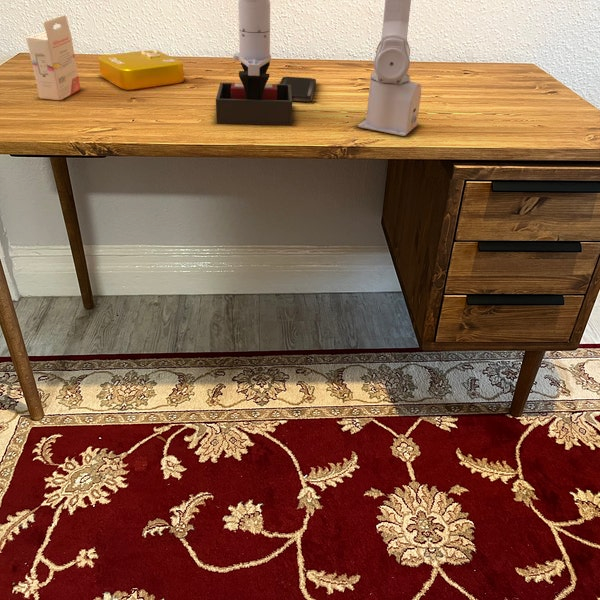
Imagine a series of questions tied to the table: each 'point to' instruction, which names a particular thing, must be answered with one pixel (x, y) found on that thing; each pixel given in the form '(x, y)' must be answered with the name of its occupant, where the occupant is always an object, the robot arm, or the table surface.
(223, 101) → the bin
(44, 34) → the ink cartridge box
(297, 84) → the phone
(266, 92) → the red and black box
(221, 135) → the table surface
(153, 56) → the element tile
